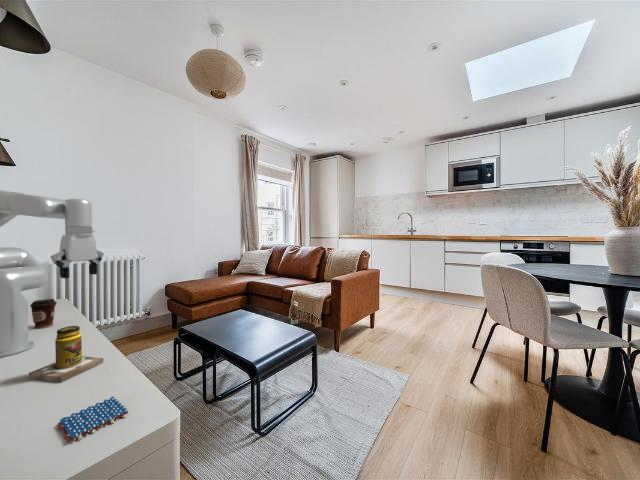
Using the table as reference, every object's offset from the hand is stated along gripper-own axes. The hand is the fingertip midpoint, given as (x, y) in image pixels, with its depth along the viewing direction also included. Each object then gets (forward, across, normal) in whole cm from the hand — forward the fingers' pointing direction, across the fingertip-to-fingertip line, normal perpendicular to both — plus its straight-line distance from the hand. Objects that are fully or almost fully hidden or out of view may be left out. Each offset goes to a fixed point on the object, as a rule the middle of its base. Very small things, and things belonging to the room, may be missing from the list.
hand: (79, 276), depth 97 cm
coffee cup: (+28, -17, -47) cm, 58 cm away
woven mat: (+29, +30, +46) cm, 62 cm away
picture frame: (+28, +13, +13) cm, 34 cm away
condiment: (+27, +14, +13) cm, 33 cm away
